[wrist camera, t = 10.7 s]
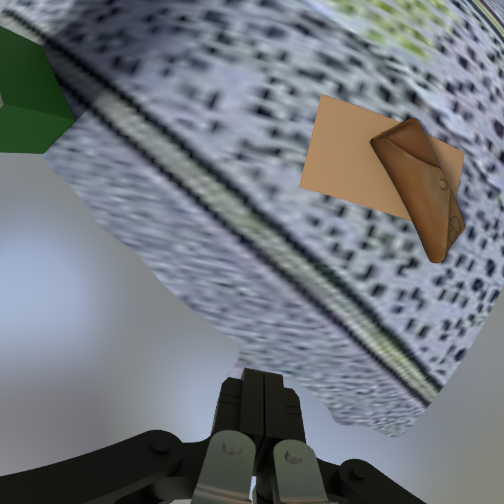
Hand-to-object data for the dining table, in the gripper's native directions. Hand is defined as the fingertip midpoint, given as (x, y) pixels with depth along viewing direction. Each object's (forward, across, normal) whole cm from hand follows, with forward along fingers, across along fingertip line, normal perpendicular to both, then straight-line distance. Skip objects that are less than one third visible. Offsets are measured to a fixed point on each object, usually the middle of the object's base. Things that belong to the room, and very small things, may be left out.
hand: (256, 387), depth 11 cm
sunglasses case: (+27, -19, -13) cm, 35 cm away
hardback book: (+27, +37, -15) cm, 48 cm away
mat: (+27, -14, -14) cm, 33 cm away
